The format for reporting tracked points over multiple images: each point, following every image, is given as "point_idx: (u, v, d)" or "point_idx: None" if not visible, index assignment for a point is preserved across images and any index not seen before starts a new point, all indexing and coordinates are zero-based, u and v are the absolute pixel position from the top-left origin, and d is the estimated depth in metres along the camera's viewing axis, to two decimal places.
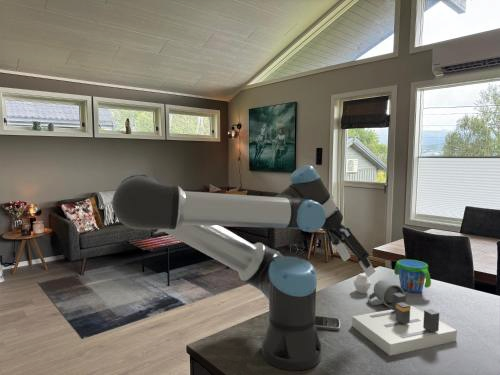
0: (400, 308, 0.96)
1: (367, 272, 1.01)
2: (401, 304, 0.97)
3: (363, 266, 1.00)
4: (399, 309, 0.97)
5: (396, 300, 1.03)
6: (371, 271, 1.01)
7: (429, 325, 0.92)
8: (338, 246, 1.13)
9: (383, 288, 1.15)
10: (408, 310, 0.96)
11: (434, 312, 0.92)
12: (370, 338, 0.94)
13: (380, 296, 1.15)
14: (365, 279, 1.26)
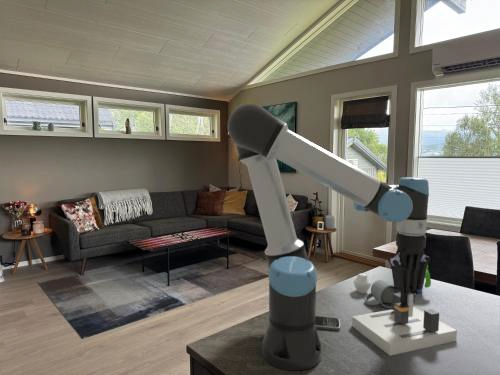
0: (399, 308, 0.96)
1: None
2: (400, 304, 0.97)
3: None
4: (398, 309, 0.97)
5: (396, 300, 1.03)
6: None
7: (429, 325, 0.92)
8: None
9: (380, 288, 1.15)
10: (407, 310, 0.96)
11: (434, 312, 0.92)
12: (370, 338, 0.94)
13: (377, 296, 1.15)
14: (365, 279, 1.26)
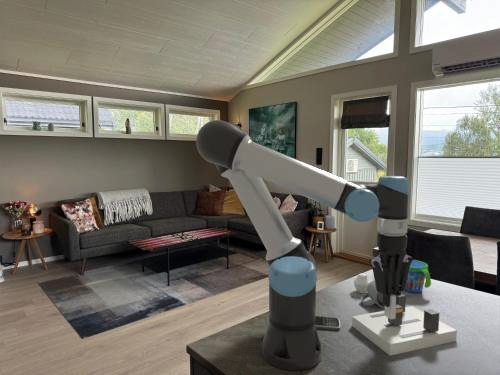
0: None
1: (385, 310, 0.96)
2: None
3: None
4: None
5: None
6: (388, 314, 0.95)
7: (429, 325, 0.92)
8: None
9: None
10: (400, 311, 0.95)
11: (434, 312, 0.92)
12: (370, 338, 0.94)
13: (373, 296, 1.15)
14: (365, 279, 1.26)
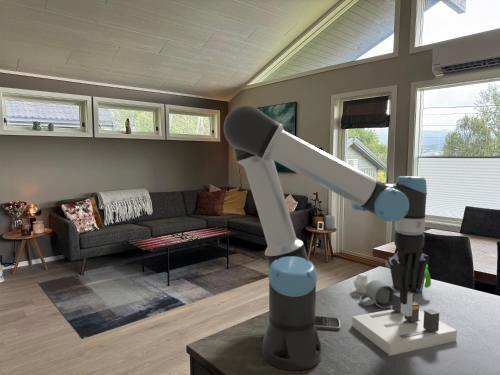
0: None
1: (401, 307, 0.98)
2: None
3: None
4: None
5: (396, 300, 1.03)
6: (404, 311, 0.97)
7: (429, 325, 0.92)
8: None
9: (374, 288, 1.15)
10: (417, 308, 0.97)
11: (434, 312, 0.92)
12: (370, 338, 0.94)
13: (372, 296, 1.15)
14: (365, 279, 1.26)
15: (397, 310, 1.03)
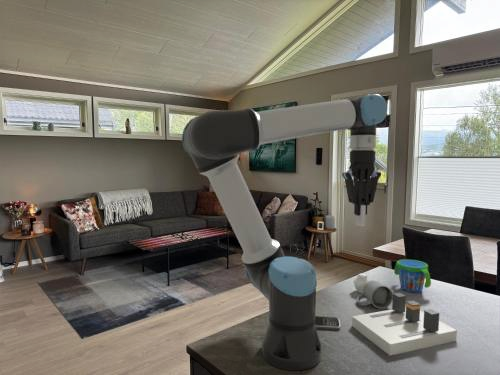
0: (410, 306, 0.98)
1: (356, 220, 1.09)
2: (411, 302, 0.98)
3: None
4: (409, 307, 0.98)
5: (396, 300, 1.03)
6: (358, 222, 1.08)
7: (429, 325, 0.92)
8: None
9: (371, 289, 1.15)
10: (418, 308, 0.97)
11: (434, 312, 0.92)
12: (370, 338, 0.94)
13: (368, 297, 1.15)
14: (365, 279, 1.26)
15: (397, 310, 1.03)
